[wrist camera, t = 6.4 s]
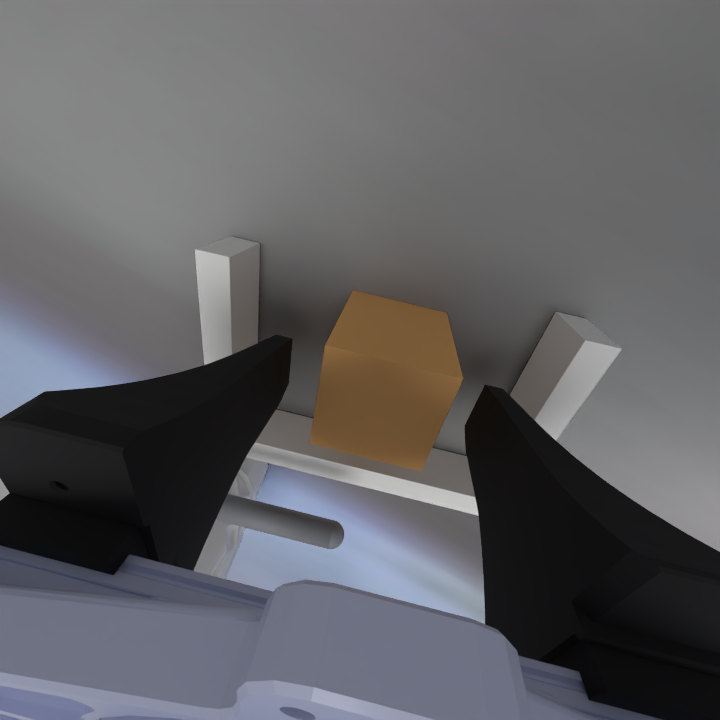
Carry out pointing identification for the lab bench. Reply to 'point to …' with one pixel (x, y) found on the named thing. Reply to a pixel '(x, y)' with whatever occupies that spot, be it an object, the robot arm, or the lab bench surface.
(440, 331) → the tan wooden cube
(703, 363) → the lab bench surface
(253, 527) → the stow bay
